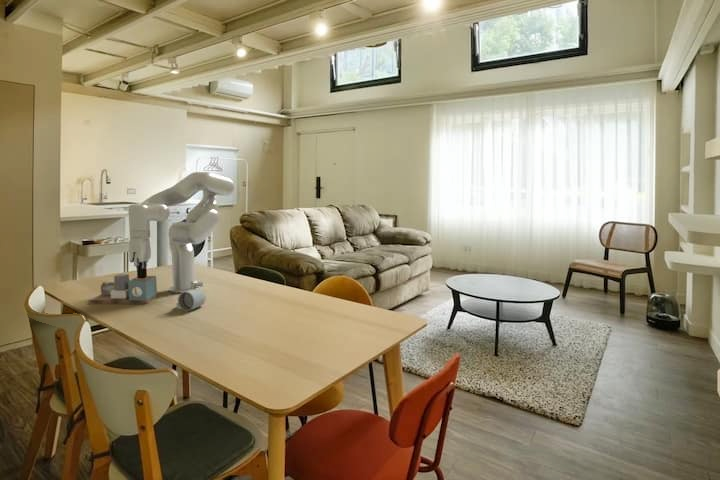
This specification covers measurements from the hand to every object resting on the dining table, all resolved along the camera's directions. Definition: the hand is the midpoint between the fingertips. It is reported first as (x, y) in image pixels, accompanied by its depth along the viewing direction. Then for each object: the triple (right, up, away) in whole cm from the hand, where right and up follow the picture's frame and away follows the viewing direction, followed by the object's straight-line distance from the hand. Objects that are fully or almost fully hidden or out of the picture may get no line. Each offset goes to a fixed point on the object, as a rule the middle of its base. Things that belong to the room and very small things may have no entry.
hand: (142, 277), depth 178 cm
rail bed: (-8, -10, +1) cm, 12 cm away
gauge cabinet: (0, -8, +1) cm, 8 cm away
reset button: (0, -3, +1) cm, 3 cm away
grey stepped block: (-9, -8, +1) cm, 12 cm away
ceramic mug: (+23, -12, -8) cm, 27 cm away
